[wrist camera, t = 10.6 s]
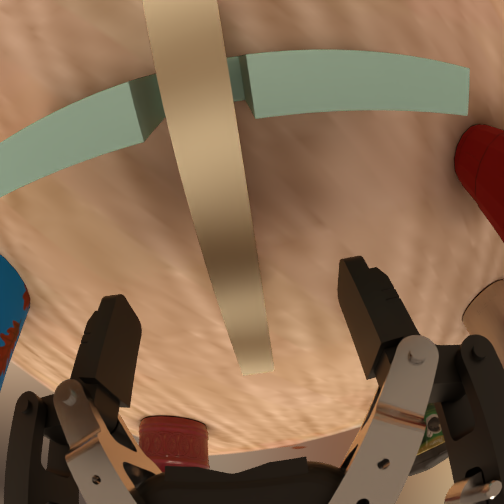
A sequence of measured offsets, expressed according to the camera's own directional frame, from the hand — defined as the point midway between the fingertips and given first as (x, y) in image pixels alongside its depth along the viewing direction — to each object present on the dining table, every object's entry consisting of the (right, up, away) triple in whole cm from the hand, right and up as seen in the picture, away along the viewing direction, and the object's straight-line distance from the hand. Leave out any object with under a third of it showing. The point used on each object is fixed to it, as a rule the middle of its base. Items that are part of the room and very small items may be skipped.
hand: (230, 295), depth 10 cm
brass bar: (-1, +7, +7) cm, 9 cm away
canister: (-14, -31, +35) cm, 49 cm away
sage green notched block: (-2, +11, +3) cm, 11 cm away
